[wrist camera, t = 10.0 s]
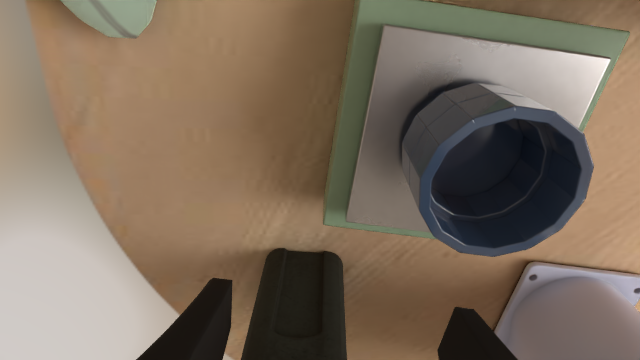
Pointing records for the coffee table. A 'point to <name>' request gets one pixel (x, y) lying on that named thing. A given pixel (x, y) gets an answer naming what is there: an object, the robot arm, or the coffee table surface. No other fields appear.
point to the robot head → (114, 15)
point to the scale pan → (432, 80)
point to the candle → (298, 309)
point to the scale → (411, 11)
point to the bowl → (494, 169)
